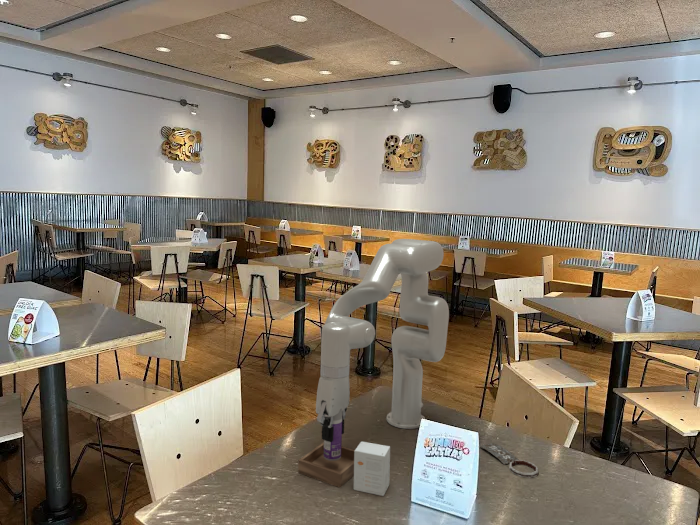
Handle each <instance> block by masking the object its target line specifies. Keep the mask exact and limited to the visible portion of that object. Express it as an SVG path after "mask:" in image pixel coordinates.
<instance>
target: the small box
mask: <svg viewBox="0 0 700 525" xmlns="http://www.w3.org/2000/svg"><path fill="white" fill-rule="evenodd" d="M354 450H355V451H354V476H353V490H354V491H358V492H362V493H367V494H372V495H375V496H381V497H384V496H385V495H386V492H387V490H388V488H389V486H390V473H391V472H390V470H391V469H390V468H391V467H390V464H391V462H390V461H391V446H390V445H385V444H378V443H371V442H367V441H360V442H359V444H358V445H357V447H356V448H355V449H354Z"/></svg>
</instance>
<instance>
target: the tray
mask: <svg viewBox="0 0 700 525" xmlns="http://www.w3.org/2000/svg"><path fill="white" fill-rule="evenodd" d="M354 451H355V449H353V448H349V447H346V446H343V445H341V458H340V459H339V460H336V461H329V460H326V459H325V458H324V441H323V442H321V443H320V444H319V445H317V446H316V447H314V448H313V449H312V450H310V451H309V452H308V453H306V454H305V455H303V456H302V457H301V458H299V459H298V461H297V466H298V467H297V473H298V474H301V475H303V476H306V477H309V478H312V479H315V480H317V481H320V482H323V483H326V484H329V485H332V486H335V487H338V488H342V487H343V486H344V485H345V484H347V482H348V481H350V480H351V479H352V478H354Z"/></svg>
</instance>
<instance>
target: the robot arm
mask: <svg viewBox="0 0 700 525" xmlns="http://www.w3.org/2000/svg"><path fill="white" fill-rule="evenodd" d="M443 260H444V249H443V247H442V245H441V244H440V243H439V242H437V241H433V240H424V239H423V240H422V239H414V238H398V239H394V240H393V241H391V243H385V244H383V245H381V246H380V247H379V249H378V250H377V252H376V254H375V256H374V258H373V260H372V262H371V264H370V265H369V267H368V269H367V271H366V273H365V274H364V277H363V279H362V280H361V281H360V283H359V284H357V285H355V286H353V287H352V288H350V289H349V290H347V291H346V292H345V293H343V294H342V295H340V297H339V298H338V299H337V300H336V301H335V302H334V304H333V305H332V307H331V309H330V311H329V313H328V315H327V317H326V319H325V322H324V324H323V326H322V328H321V338H320V340H321V344H320V346H321V347H320V352H321V353H320V377H319V380H318V385H317V390H316V400H315V401H316V402H315V412H316V413H315V414H317V417H316V421H317V422H319V423H320V426H321V439H322V441H324V440H326V441H329V442H332V441H333V431H334V427H332V424H333V417H334V416H335V415H336V414H338V413H339V411H340V409H341V408H342V435H343V434H344V433H345V419H346V412H347V410H348V406H349V405H350V397H351V396H350V393H351V392H350V385H351V384H350V366H351V365H350V363H351V362H350V360H351V358H350V357H351V350H352V349H353V350H354V349H355V350H356V349H362V348H367V347H368V346H369V345H371V344H372V343H373V341H374V340H375V337H376V329H375V326H374V325H373V324H372V323H371V322H370V321H368V320H365V319H361V318H356V317H352V316H351V317H350V315H351V314H352V313H353V312H355V310H357V309H359V308H360V307H361V308H362V307H363V306H366V305H369V304H373V303H377V302H380V301H383V300H385V299H387V298H388V297H389V295H390V293H391V291H392V289H393V286H394V284H395V283H396V281H397V278H398V276H399V275H400V276H401V287H400V298H399V299H400V300H399V311H398V313H399V317H400V319H401V320H402V321H405V322H408V323H411V324H416V325H422V326H427V327H428V329H424V328H421V327H417V326H416V327H415V326H410V325H402V326H401V325H400V326H398V327H396V329H394V330H393V333H392V335H391V339H390V340H391V349H392V356H393V357H392V358H393V361H392V362H393V369H392V370H393V371H392V372H393V373H392V389H391V390H392V392H391V393H392V394H391V411H390V412H389V413H387V414H386V422H387V423H388V424H389V425H391V426H393V427H395V428H398V429H404V430H408V429H409V430H413V429H418V428H420V427H419V425H420V420H421V419H422V418H424V419H425V420H426V417H425V416H424V415H422V413H421V412H422V407H423V406H424V403H423V402H422V395H423V394H422V392H423V376H424V374H423V373H424V369H423V365H422V363H421V361H422V360H423V361H426V362H430V363H431V362H432V363H438V362H440V361H441V360H442V359H443V357H444V356H445V352H446V347H447V338H448V329H449V328H448V327H449V319H450V310H449V309H450V308H449V304H448V303H447V301H446V299H445V298H442V297H440V296H436V295H429V292H428V290H429V276H428V273H429V272H432V271H434V270H436V269H437V268H439V267H440V266H441V265H442V263H443ZM326 412H327V413H328V414H326ZM326 417H329V421H328V420H327V419H326Z"/></svg>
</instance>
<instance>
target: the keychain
mask: <svg viewBox="0 0 700 525" xmlns="http://www.w3.org/2000/svg"><path fill="white" fill-rule="evenodd" d="M479 446H480V448H479V449H480V450H485V451H487V452H488V453H490V454H492V455H493V457H495V458H497V460H499V461H500V464H502V465H503V466H504V465H505V466H507V465H508V470H509V471H510V472H511V474H514V475H516V476H518V477H520V478H527V479H531V478H536V477H537V476H538V473H539V468H538V466H537V465H536V464H534V463H533V462H530V461H527V460H525V459H523V460H522V459H518V457H517V456H515V455H514V454H513V453H512V452H510V451H508V449H506V448H505V447H503V446H501V445H499V444H498V443H495V442H492V443H488V444H484V445H479ZM517 465H520V466H521V465H522V466H526V467H529V468H531V469H533V470H534V471H533V472H524V471H523V472H522V471H520V470H517V469H515V467H513V466H517Z"/></svg>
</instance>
